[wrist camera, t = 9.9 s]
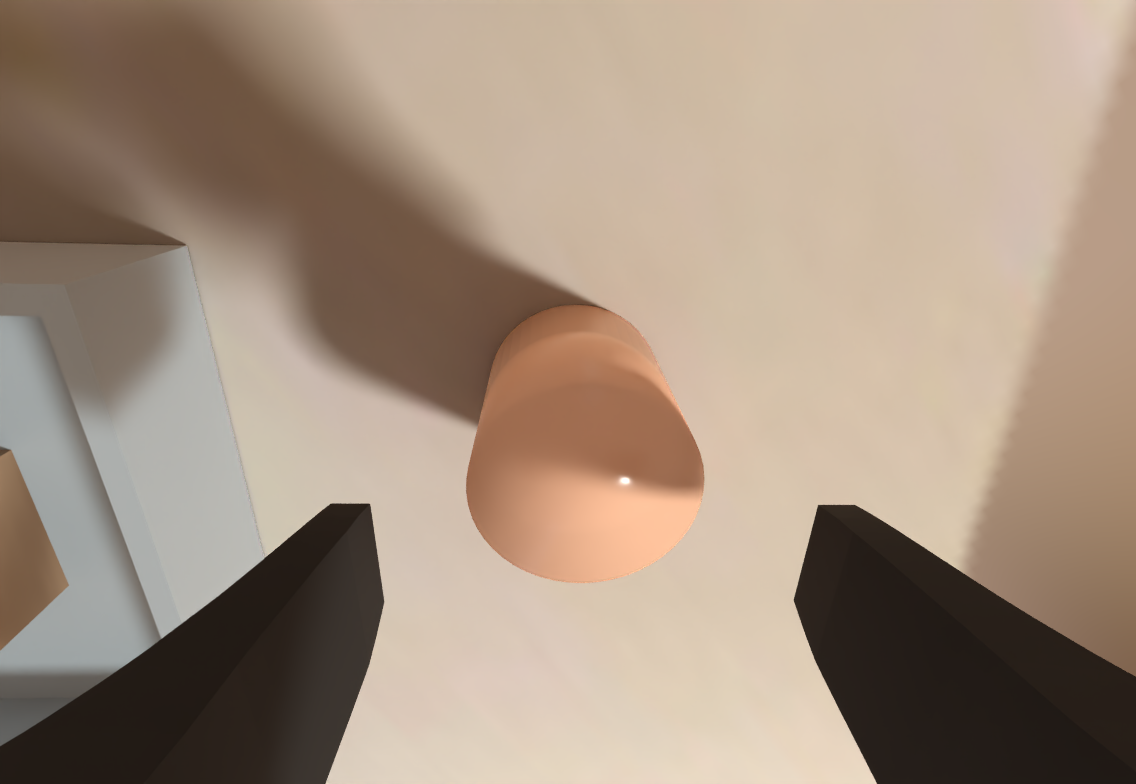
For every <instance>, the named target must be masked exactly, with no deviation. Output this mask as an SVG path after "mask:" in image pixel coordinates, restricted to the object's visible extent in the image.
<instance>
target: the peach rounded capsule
mask: <svg viewBox="0 0 1136 784" xmlns="http://www.w3.org/2000/svg"><path fill="white" fill-rule="evenodd" d="M703 490H704V469H703V463H702V459H701V455H700V452H699V449H698V447H697V445H696V442H695V440H694V438H693V436H692V434H691V431H690V429H689V427H688V425H687V423H686V421H685V419H684V417H683V415H682V413H681V411H680V408H679V406H678V404H677V402H676V400H675V398H674V396H673V394H672V392H671V390H670V388H669V385H668V383H667V381H666V379H665V377H664V375H663V373H662V371H661V369H660V367H659V364H658V362H657V360H656V358H655V356H654V354H653V352H652V350H651V348H650V346H649V344H648V343H647V341H646V340H645V338H644V337H643V336H642V334H641V333H640V332H639V331H638V330H637V329H636V328H635V327H634V326H633V325H632V324H631V323H629V322H628V321H626V320H625V319H624V318H622V317H621V316H619V315H617V314H615V313H613V312H611V311H608V310H605V309H602V308H598V307H594V306H589V305H563V306H558V307H553V308H550V309H547V310H543V311H541V312H539V313H537V314H535V315H532V316H531V317H529V318H528V319H526V320H524V321H523V322H522V323H520V324H519V325H518V326H517V327H516V328H514V329H513V330H512V332H511V333H510V334H509V335H508V336H507V337H506V338H505V340H504V341H503V343H502V344H501V346H500V348H499V350H498V352H497V354H496V356H495V359H494V362H493V365H492V368H491V373H490V377H489V381H488V385H487V390H486V394H485V398H484V403H483V407H482V411H481V415H480V420H479V424H478V428H477V433H476V437H475V441H474V445H473V450H472V454H471V458H470V462H469V467H468V473H467V481H466V493H467V500H468V506H469V509H470V512H471V516H472V518H473V520H474V522H475V525H476V527H477V529H478V530H479V532H480V533H481V535H482V536H483V538H484V539H485V540H486V542H487V543H488V544H489V545H490V546H491V547H492V548H493V549H494V550H495V551H496V552H497V553H498V554H499V555H501V556H502V557H503V558H504V559H506V560H507V561H509V562H510V563H512V564H513V565H515V566H517V567H519V568H520V569H522V570H524V571H526V572H529V573H531V574H534V575H537V576H539V577H543V578H547V579H551V580H556V581H562V582H572V583H589V582H600V581H606V580H612V579H615V578H619V577H623V576H626V575H629V574H631V573H634V572H637V571H639V570H641V569H643V568H645V567H647V566H649V565H650V564H652V563H654V562H655V561H657V560H658V559H660V558H661V557H663V556H664V555H665V554H666V553H667V552H669V551H670V550H671V549H672V548H673V547H674V546H675V545H676V544H677V543H678V542H679V541H680V540H681V539H682V537H683V536H684V535H685V533H686V532H687V531H688V529H689V528H690V526H691V524H692V523H693V521H694V519H695V517H696V515H697V512H698V510H699V507H700V504H701V500H702V496H703Z"/></svg>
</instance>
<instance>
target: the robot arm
mask: <svg viewBox="0 0 1136 784" xmlns="http://www.w3.org/2000/svg"><path fill="white" fill-rule="evenodd" d="M794 602H795V605H796V608H797V611H798V614H799V617H800V620H801V623H802V626H803V629H804V632H805V635H806V637H807V640H808V643H809V645H810V648H811V651H812V653H813V656H814V659H815V661H816V663H817V665H818V667H819V669H820V671H821V673H822V676H823V678H824V680H825V682H826V684H827V686H828V688H829V690H830V692H831V694H832V696H833V698H834V700H835V702H836V704H837V706H838V708H839V710H840V712H841V714H842V716H843V718H844V720H845V721H846V723H847V725H848V727H849V729H850V731H851V733H852V735H853V737H854V739H855V741H856V743H857V745H858V747H859V749H860V751H861V753H862V755H863V757H864V759H865V761H866V763H867V765H868V767H869V769H870V771H871V773H872V774H873V776H874V778H875V780H876V782H877V784H1136V677H1135V676H1133V675H1132V674H1130V673H1127V672H1126V671H1124V670H1122V669H1121V668H1119V667H1117V666H1115V665H1113V664H1112V663H1110V662H1108V661H1106V660H1105V659H1103V658H1101V657H1099V656H1097V655H1096V654H1094V653H1092V652H1090V651H1089V650H1087V649H1085V648H1084V647H1082V646H1080V645H1079V644H1077V643H1075V642H1074V641H1072V640H1070V639H1069V638H1067V637H1065V636H1064V635H1062V634H1060V633H1058V632H1057V631H1055V630H1053V629H1052V628H1050V627H1048V626H1047V625H1045V624H1043V623H1042V622H1040V621H1038V620H1037V619H1035V618H1033V617H1032V616H1030V615H1028V614H1027V613H1025V612H1024V611H1022V610H1020V609H1019V608H1017V607H1015V606H1014V605H1012V604H1011V603H1009V602H1007V601H1006V600H1004V599H1002V598H1001V597H999V596H997V595H996V594H995V593H993V592H991V591H990V590H988V589H987V588H985V587H984V586H982V585H981V584H979V583H977V582H976V581H974V580H973V579H971V578H970V577H968V576H967V575H965V574H963V573H962V572H960V571H959V570H957V569H956V568H954V567H953V566H951V565H950V564H948V563H947V562H945V561H943V560H942V559H940V558H939V557H937V556H936V555H934V554H933V553H931V552H930V551H928V550H927V549H925V548H924V547H922V546H921V545H919V544H917V543H916V542H914V541H913V540H911V539H910V538H908V537H907V536H905V535H904V534H902V533H901V532H899V531H897V530H896V529H894V528H893V527H891V526H890V525H888V524H886V523H885V522H883V521H882V520H880V519H878V518H877V517H875V516H873V515H872V514H870V513H868V512H867V511H865V510H863V509H861V508H859V507H858V506H856V505H818V508H817V512H816V516H815V520H814V524H813V527H812V531H811V535H810V539H809V543H808V547H807V551H806V555H805V558H804V562H803V566H802V570H801V574H800V578H799V582H798V586H797V589H796V593H795V597H794ZM383 605H384V597H383V590H382V583H381V576H380V569H379V562H378V555H377V548H376V541H375V534H374V527H373V520H372V513H371V507H370V504H330V505H329V506H327V507H326V508H325V509H323V510H322V511H321V512H320V513H318V514H317V515H316V516H315V517H313V518H312V519H311V520H310V521H309V522H307V523H306V524H305V525H304V526H303V527H301V528H300V529H299V530H298V531H297V532H296V533H294V534H293V535H292V536H291V537H290V538H288V539H287V540H286V541H285V542H284V543H282V544H281V545H280V546H279V547H278V548H276V549H275V550H274V551H273V552H272V553H271V554H269V555H268V556H267V557H266V558H264V559H263V560H262V561H261V562H259V563H258V564H257V565H256V566H255V567H253V568H252V569H251V570H250V571H248V572H247V573H246V574H245V575H244V576H242V577H241V578H240V579H239V580H237V581H236V582H235V583H234V584H233V585H231V586H230V587H229V588H228V589H226V590H225V591H224V592H223V593H221V594H220V595H219V596H218V597H216V598H215V599H214V600H212V601H211V602H210V603H208V604H207V605H206V606H204V607H203V608H202V609H200V610H199V611H198V612H196V613H195V614H194V615H192V616H191V617H190V618H188V619H187V620H186V621H184V622H183V623H182V624H180V625H179V626H178V627H176V628H175V629H174V630H172V631H171V632H170V633H168V634H167V635H166V636H164V637H163V638H162V639H160V640H159V641H158V642H157V643H155V644H154V645H153V646H151V647H150V648H149V649H147V650H146V651H144V652H143V653H142V654H140V655H139V656H137V657H136V658H135V659H133V660H132V661H130V662H129V663H128V664H126V665H125V666H123V667H122V668H120V669H119V670H117V671H116V672H114V673H113V674H112V675H110V676H109V677H107V678H106V679H104V680H103V681H101V682H100V683H98V684H97V685H95V686H94V687H92V688H91V689H89V690H88V691H86V692H85V693H83V694H82V695H80V696H79V697H77V698H76V699H74V700H73V701H71V702H69V703H68V704H66V705H65V706H63V707H62V708H60V709H59V710H57V711H56V712H54V713H53V714H51V715H50V716H48V717H47V718H45V719H43V720H42V721H40V722H39V723H37V724H36V725H34V726H32V727H31V728H29V729H28V730H26V731H24V732H23V733H21V734H20V735H18V736H16V737H15V738H13V739H11V740H10V741H8V742H6V743H5V744H3V745H1V746H0V784H325V783H326V780H327V778H328V775H329V772H330V770H331V767H332V764H333V762H334V759H335V756H336V754H337V751H338V748H339V745H340V743H341V740H342V737H343V735H344V732H345V729H346V727H347V724H348V721H349V719H350V716H351V713H352V711H353V708H354V705H355V702H356V700H357V697H358V694H359V691H360V689H361V686H362V683H363V680H364V678H365V675H366V672H367V669H368V666H369V663H370V659H371V655H372V651H373V647H374V643H375V640H376V636H377V631H378V627H379V623H380V618H381V614H382V609H383Z"/></svg>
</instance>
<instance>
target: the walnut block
mask: <svg viewBox="0 0 1136 784" xmlns="http://www.w3.org/2000/svg"><path fill="white" fill-rule="evenodd" d="M68 586H69V584H68V582H67V579H66V577H65V575H64V572H63V570H62V567H61V565H60V563H59V560H58V558H57V556H56V553H55V551H54V549H53V546H52V544H51V542H50V539H49V537H48V535H47V532H46V530H45V528H44V525H43V523H42V521H41V518H40V516H39V514H38V511H37V509H36V507H35V504H34V502H33V500H32V497H31V495H30V493H29V490H28V488H27V485H26V483H25V481H24V478H23V476H22V474H21V471H20V469H19V467H18V464H17V462H16V460H15V457H14V455H13V453H12V450H0V651H1V650H2V649H3V648H4V647H5V646H6V645H7V644H8V643H9V642H10V641H11V640H12V639H13V638H14V637H15V636H16V635H17V634H18V633H20V632H21V631H22V630H23V629H24V628H25V627H26V626H27V625H28V624H29V623H30V622H31V621H32V620H33V619H34V618H35V617H36V616H37V615H38V614H39V613H41V612H42V611H43V610H44V609H45V608H46V607H47V606H48V605H49V604H50V603H51V602H52V601H53V600H54V599H55V598H56V597H57V596H58V595H59V594H61V593H62V592H63V591H64V590H65V589H66V588H67V587H68Z"/></svg>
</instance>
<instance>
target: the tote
mask: <svg viewBox="0 0 1136 784" xmlns="http://www.w3.org/2000/svg"><path fill="white" fill-rule="evenodd" d="M0 450H12V453H13V455H14V457H15V460H16V462H17V464H18V467H19V469H20V471H21V474H22V476H23V478H24V481H25V483H26V485H27V488H28V490H29V493H30V495H31V497H32V500H33V502H34V504H35V507H36V509H37V511H38V514H39V516H40V518H41V521H42V523H43V525H44V528H45V530H46V532H47V535H48V537H49V539H50V542H51V544H52V546H53V549H54V551H55V553H56V556H57V558H58V560H59V563H60V565H61V567H62V570H63V572H64V575H65V577H66V579H67V582H68V584H69V586H68V587H67V588H66V589H65V590H64V591H63V592H62V593H61V594H59V595H58V596H57V597H56V598H55V599H54V600H53V601H52V602H51V603H50V604H49V605H48V606H47V607H46V608H45V609H44V610H43V611H42V612H41V613H39V614H38V615H37V616H36V617H35V618H34V619H33V620H32V621H31V622H30V623H29V624H28V625H27V626H26V627H25V628H24V629H23V630H22V631H21V632H20V633H18V634H17V635H16V636H15V637H14V638H13V639H12V640H11V641H10V642H9V643H8V644H7V645H6V646H5V647H4V648H3V649H2V650H1V651H0V746H1V745H3V744H5V743H6V742H8V741H10V740H11V739H13V738H15V737H16V736H18V735H20V734H21V733H23V732H24V731H26V730H28V729H29V728H31V727H32V726H34V725H36V724H37V723H39V722H40V721H42V720H43V719H45V718H47V717H48V716H50V715H51V714H53V713H54V712H56V711H57V710H59V709H60V708H62V707H63V706H65V705H66V704H68V703H69V702H71V701H73V700H74V699H76V698H77V697H79V696H80V695H82V694H83V693H85V692H86V691H88V690H89V689H91V688H92V687H94V686H95V685H97V684H98V683H100V682H101V681H103V680H104V679H106V678H107V677H109V676H110V675H112V674H113V673H114V672H116V671H117V670H119V669H120V668H122V667H123V666H125V665H126V664H128V663H129V662H130V661H132V660H133V659H135V658H136V657H137V656H139V655H140V654H142V653H143V652H144V651H146V650H147V649H149V648H150V647H151V646H153V645H154V644H155V643H157V642H158V641H159V640H160V639H162V638H163V637H164V636H166V635H167V634H168V633H170V632H171V631H172V630H174V629H175V628H176V627H178V626H179V625H180V624H182V623H183V622H184V621H186V620H187V619H188V618H190V617H191V616H192V615H194V614H195V613H196V612H198V611H199V610H200V609H202V608H203V607H204V606H206V605H207V604H208V603H210V602H211V601H212V600H214V599H215V598H216V597H218V596H219V595H220V594H221V593H223V592H224V591H225V590H226V589H228V588H229V587H230V586H231V585H233V584H234V583H235V582H236V581H237V580H239V579H240V578H241V577H242V576H244V575H245V574H246V573H247V572H248V571H250V570H251V569H252V568H253V567H255V566H256V565H257V564H258V563H259V562H261V561H262V560H263V559H264V554H263V550H262V546H261V542H260V538H259V534H258V530H257V526H256V522H255V518H254V514H253V510H252V506H251V502H250V498H249V494H248V490H247V486H246V482H245V478H244V474H243V470H242V466H241V462H240V458H239V454H238V450H237V446H236V442H235V437H234V433H233V429H232V425H231V421H230V417H229V413H228V409H227V405H226V401H225V397H224V393H223V389H222V385H221V381H220V377H219V373H218V369H217V365H216V361H215V357H214V353H213V349H212V345H211V341H210V337H209V333H208V329H207V325H206V321H205V316H204V312H203V308H202V304H201V300H200V296H199V292H198V288H197V284H196V280H195V276H194V272H193V268H192V264H191V260H190V256H189V252H188V248H187V246H183V245H135V244H87V243H39V242H0Z"/></svg>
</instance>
